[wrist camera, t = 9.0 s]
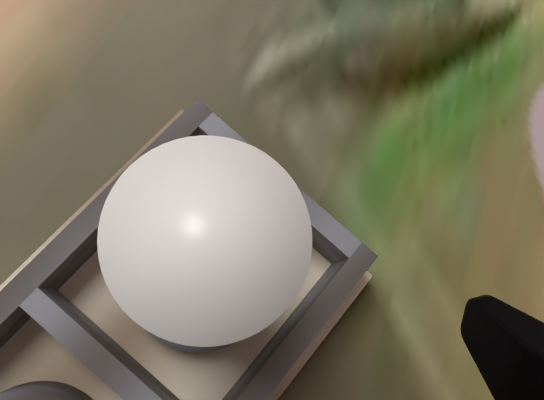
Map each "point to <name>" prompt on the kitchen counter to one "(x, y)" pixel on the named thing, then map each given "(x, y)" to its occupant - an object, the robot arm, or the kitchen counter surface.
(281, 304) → the white bulb
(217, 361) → the grey compartment tray
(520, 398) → the robot arm
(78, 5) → the kitchen counter surface
